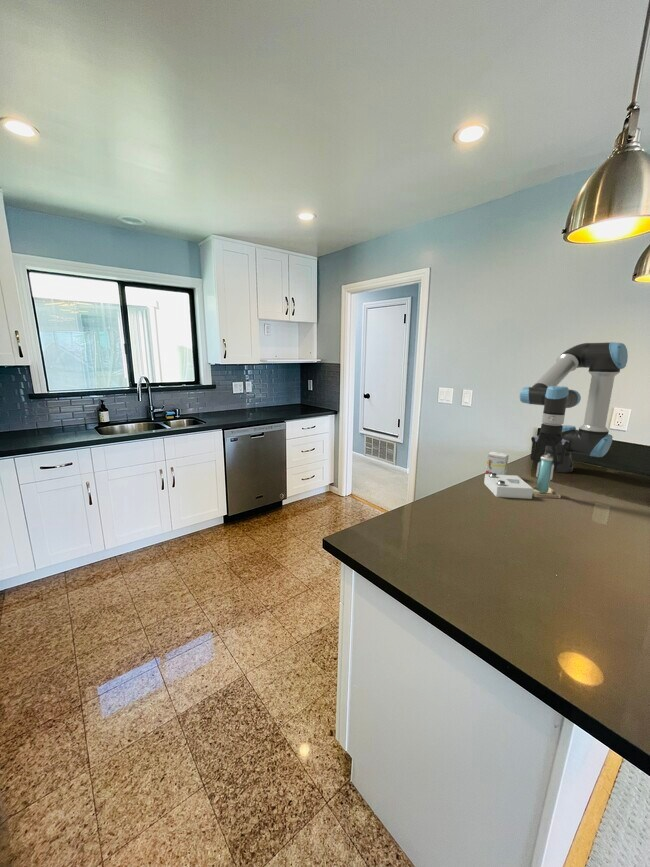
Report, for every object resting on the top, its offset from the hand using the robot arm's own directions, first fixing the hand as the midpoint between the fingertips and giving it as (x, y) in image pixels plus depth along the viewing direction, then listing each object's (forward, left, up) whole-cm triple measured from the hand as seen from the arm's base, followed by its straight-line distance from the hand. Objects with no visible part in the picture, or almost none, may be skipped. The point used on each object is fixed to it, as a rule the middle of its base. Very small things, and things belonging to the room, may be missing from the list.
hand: (544, 477), depth 149 cm
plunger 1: (-6, -19, -7) cm, 21 cm away
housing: (-1, -14, -8) cm, 16 cm away
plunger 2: (+4, -19, -7) cm, 20 cm away
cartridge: (0, 0, -6) cm, 6 cm away
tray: (0, 0, -8) cm, 8 cm away
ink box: (-21, -12, -8) cm, 25 cm away
